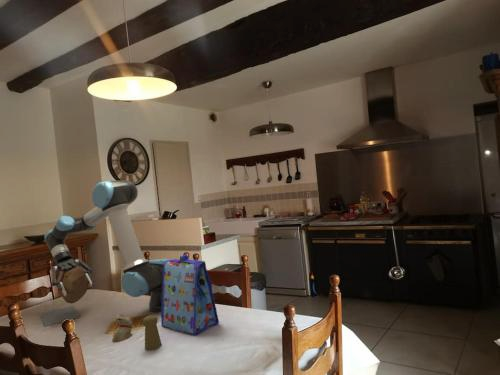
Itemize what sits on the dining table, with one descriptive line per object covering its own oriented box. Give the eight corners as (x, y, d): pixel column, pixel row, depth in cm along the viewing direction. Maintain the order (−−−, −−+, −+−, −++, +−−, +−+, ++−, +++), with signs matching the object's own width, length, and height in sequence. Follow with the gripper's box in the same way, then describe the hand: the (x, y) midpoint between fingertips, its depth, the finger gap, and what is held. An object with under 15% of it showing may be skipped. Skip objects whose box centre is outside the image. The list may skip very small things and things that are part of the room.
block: (68, 307, 178) (70, 284, 166) (59, 296, 180) (61, 272, 168) (88, 295, 186) (92, 272, 174) (80, 285, 188) (83, 261, 176)
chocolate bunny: (133, 337, 143) (130, 312, 142) (112, 343, 140) (109, 317, 140) (133, 332, 148) (130, 308, 148) (112, 337, 145) (109, 312, 145)
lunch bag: (220, 323, 147) (211, 252, 147) (194, 336, 137) (185, 260, 136) (185, 315, 161) (177, 250, 161) (159, 327, 151) (151, 257, 151)
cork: (146, 352, 128) (142, 321, 128) (143, 346, 134) (139, 316, 133) (163, 346, 131) (159, 316, 131) (159, 341, 136) (156, 312, 136)
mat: (80, 317, 176) (80, 316, 176) (44, 327, 167) (44, 326, 167) (72, 306, 196) (72, 305, 196) (40, 314, 187) (40, 313, 187)
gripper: (85, 252, 195) (102, 284, 185) (36, 267, 179) (51, 303, 169) (86, 243, 190) (103, 276, 180) (36, 258, 175) (52, 295, 165)
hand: (78, 289), depth 175 cm, fingers closed on block, 11 cm apart
